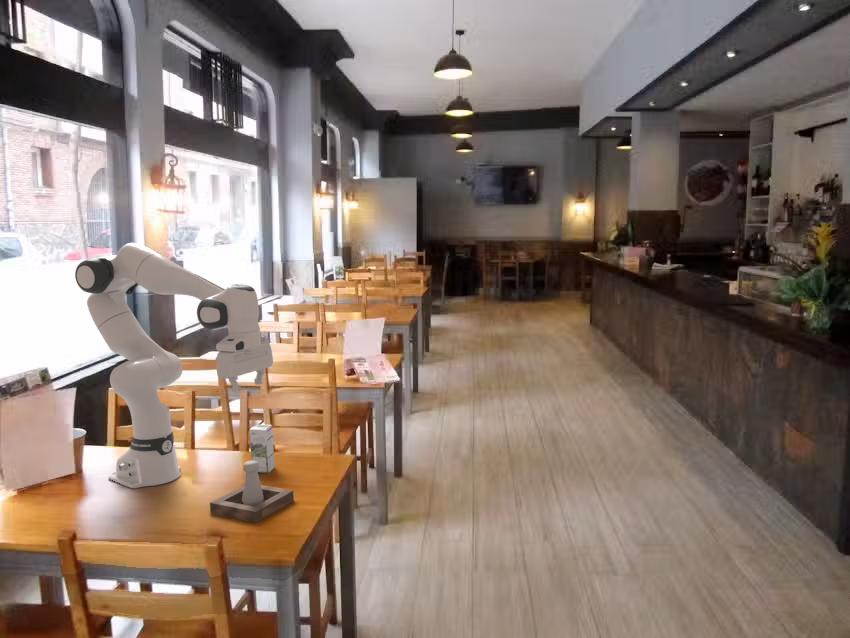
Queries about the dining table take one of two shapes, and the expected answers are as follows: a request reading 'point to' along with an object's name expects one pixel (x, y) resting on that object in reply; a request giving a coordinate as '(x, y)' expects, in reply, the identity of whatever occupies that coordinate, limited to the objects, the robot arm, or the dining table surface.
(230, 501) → the walnut socket
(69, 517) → the dining table surface
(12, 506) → the dining table surface
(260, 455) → the syrup box
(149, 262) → the robot arm
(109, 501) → the dining table surface
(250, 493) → the salt shaker
